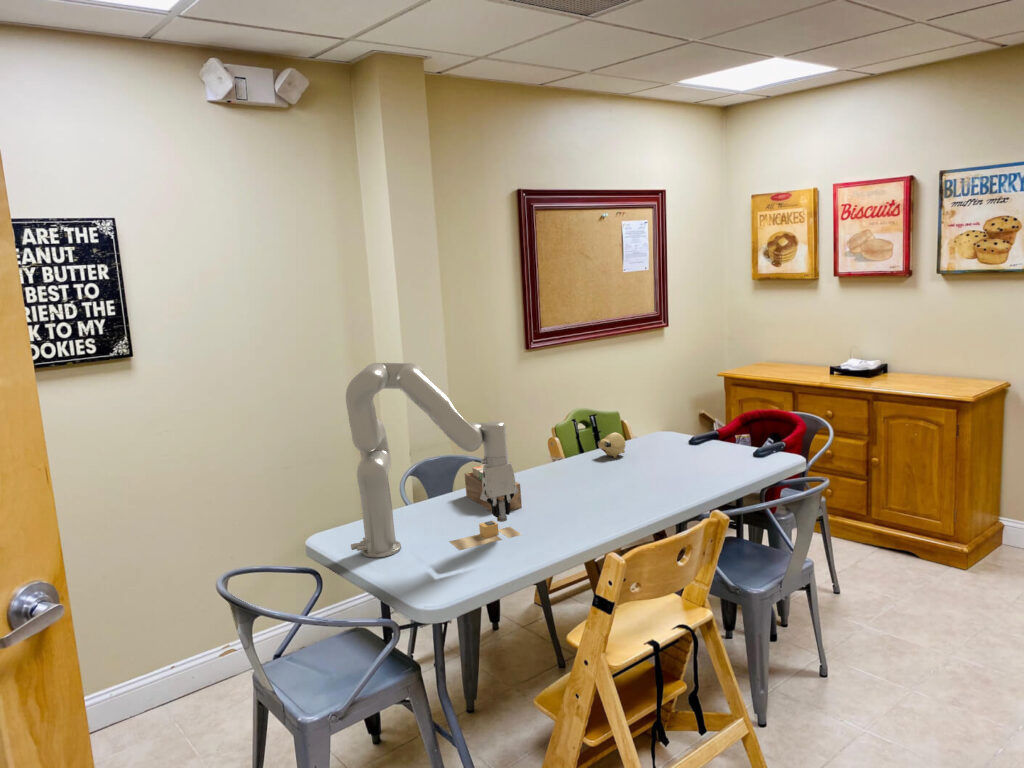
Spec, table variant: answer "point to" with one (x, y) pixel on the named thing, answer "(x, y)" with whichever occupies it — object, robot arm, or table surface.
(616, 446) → the toy pig
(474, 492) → the block caddy
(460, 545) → the board
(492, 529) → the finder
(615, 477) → the table surface
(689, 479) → the table surface
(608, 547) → the table surface
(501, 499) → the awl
